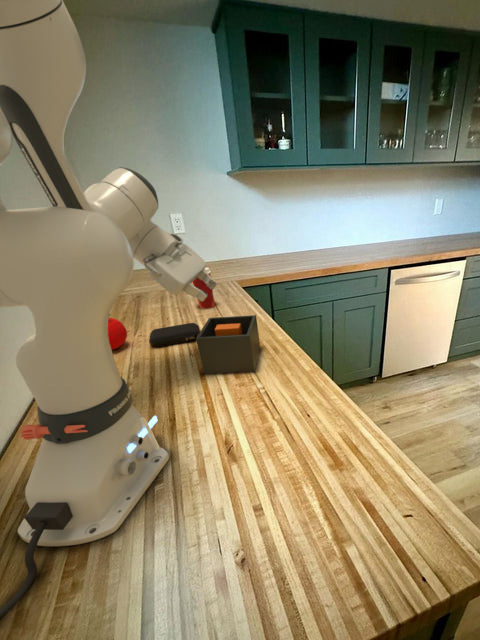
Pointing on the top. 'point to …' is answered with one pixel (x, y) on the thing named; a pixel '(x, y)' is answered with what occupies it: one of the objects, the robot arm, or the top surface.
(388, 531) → the top surface
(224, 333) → the block
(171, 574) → the top surface
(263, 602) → the top surface
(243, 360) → the trash bin
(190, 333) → the carrying case
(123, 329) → the tomato
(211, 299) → the paper cup
